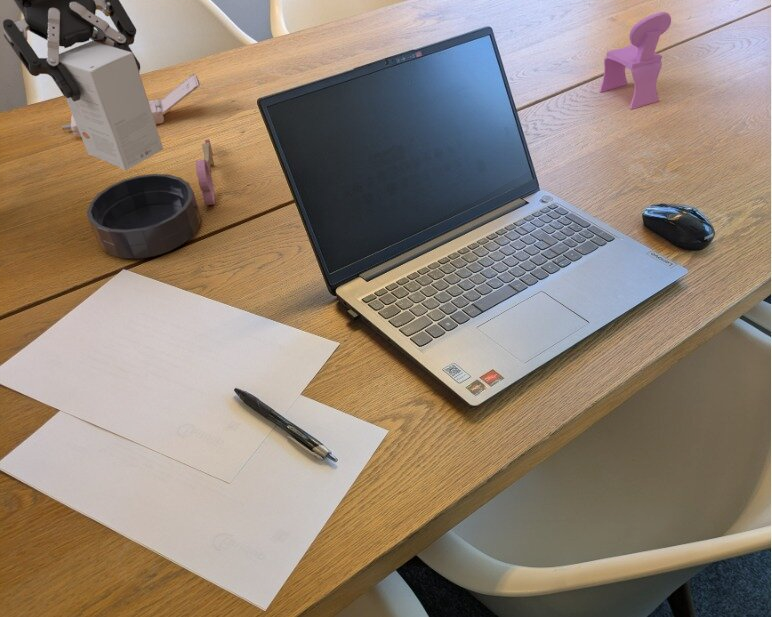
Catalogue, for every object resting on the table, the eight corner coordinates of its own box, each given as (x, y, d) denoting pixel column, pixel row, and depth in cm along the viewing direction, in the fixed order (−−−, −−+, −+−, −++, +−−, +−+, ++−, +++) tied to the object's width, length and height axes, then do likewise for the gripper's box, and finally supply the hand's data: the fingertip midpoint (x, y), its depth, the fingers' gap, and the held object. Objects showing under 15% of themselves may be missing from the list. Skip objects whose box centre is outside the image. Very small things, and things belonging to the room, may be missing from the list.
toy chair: (628, 81, 122) (646, -4, 112) (663, 99, 116) (685, 11, 106) (592, 92, 119) (607, 5, 109) (626, 111, 114) (645, 21, 103)
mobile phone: (200, 85, 116) (50, 112, 110) (208, 116, 120) (63, 144, 114) (196, 72, 120) (51, 98, 115) (203, 103, 124) (64, 129, 118)
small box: (164, 149, 87) (134, 51, 78) (126, 172, 83) (89, 71, 74) (125, 134, 90) (92, 38, 81) (86, 155, 87) (47, 57, 78)
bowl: (129, 276, 87) (117, 245, 84) (82, 232, 95) (69, 203, 91) (220, 228, 94) (212, 199, 90) (169, 191, 102) (160, 163, 98)
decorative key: (218, 162, 113) (214, 210, 96) (210, 163, 113) (205, 211, 96) (209, 123, 109) (203, 166, 93) (201, 124, 109) (194, 167, 93)
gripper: (-37, -42, 71) (51, 92, 73) (88, -71, 78) (165, 52, 80) (-31, -1, 78) (50, 121, 79) (84, -31, 85) (155, 82, 86)
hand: (107, 86), depth 80 cm, fingers closed on small box, 7 cm apart
